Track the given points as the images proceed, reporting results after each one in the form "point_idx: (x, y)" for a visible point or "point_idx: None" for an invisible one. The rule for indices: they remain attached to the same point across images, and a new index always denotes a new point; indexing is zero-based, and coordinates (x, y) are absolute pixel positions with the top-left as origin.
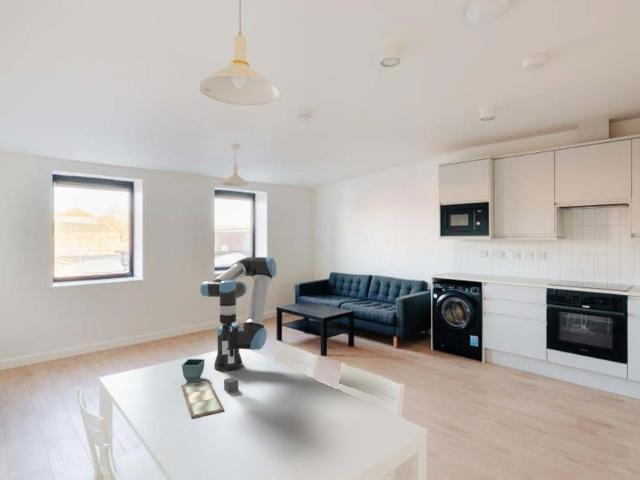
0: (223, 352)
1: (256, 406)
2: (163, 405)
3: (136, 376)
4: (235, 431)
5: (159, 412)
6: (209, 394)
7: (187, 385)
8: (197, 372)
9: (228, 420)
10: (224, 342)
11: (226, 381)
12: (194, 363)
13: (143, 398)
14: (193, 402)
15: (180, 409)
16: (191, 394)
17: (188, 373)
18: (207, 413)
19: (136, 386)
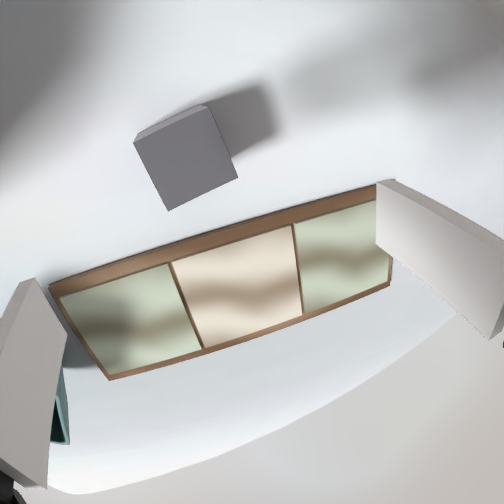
0: (57, 344)
1: (397, 51)
2: (265, 382)
3: (50, 465)
4: (484, 156)
5: (308, 375)
6: (239, 259)
7: (117, 363)
8: (61, 368)
9: (442, 169)
10: (24, 454)
11: (208, 191)
12: None
13: (199, 433)
14: (299, 307)
15: (315, 331)
16: (217, 332)
17: (65, 393)
18: None
19: (114, 459)
